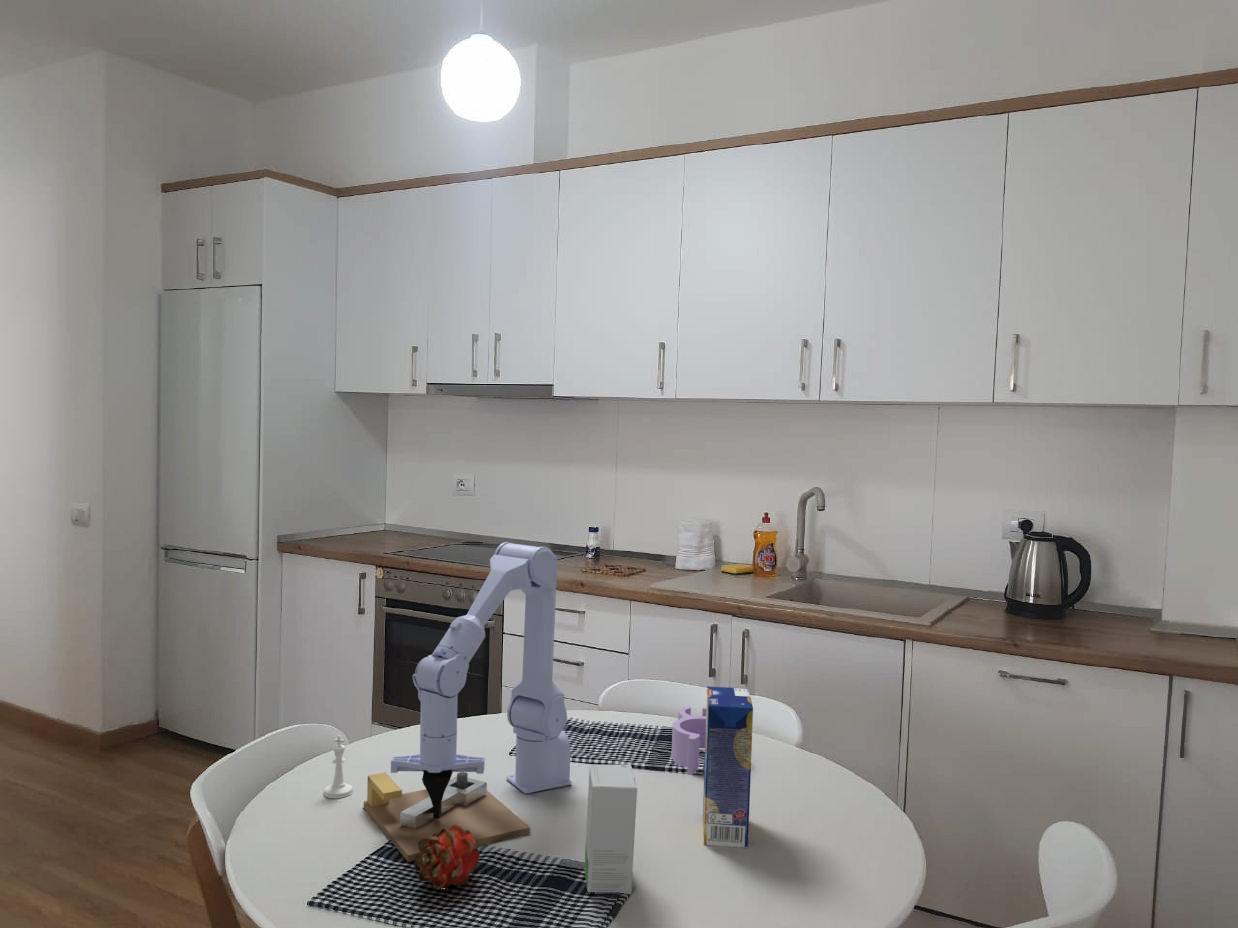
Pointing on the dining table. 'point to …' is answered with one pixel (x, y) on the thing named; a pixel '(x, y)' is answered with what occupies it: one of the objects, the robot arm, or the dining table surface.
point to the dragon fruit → (447, 857)
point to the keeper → (381, 789)
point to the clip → (688, 738)
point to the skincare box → (610, 828)
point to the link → (443, 802)
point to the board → (447, 820)
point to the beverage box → (727, 766)
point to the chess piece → (338, 775)
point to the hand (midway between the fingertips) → (437, 815)
